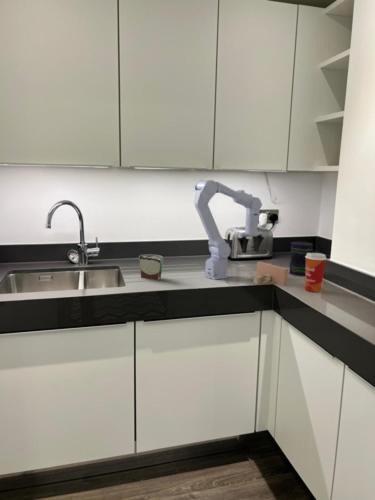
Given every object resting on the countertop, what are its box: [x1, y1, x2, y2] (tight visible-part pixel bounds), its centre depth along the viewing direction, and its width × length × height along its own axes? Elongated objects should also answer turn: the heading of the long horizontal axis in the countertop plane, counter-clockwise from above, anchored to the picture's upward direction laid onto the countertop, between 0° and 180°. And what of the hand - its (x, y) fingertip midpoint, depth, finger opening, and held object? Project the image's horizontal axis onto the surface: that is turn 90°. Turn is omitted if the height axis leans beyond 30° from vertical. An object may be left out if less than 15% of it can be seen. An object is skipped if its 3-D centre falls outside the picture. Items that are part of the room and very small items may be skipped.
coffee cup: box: [304, 252, 327, 294], centre depth 152 cm, size 8×8×15 cm
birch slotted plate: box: [252, 274, 289, 285], centre depth 166 cm, size 20×2×3 cm, turn 125°
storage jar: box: [288, 240, 314, 277], centre depth 179 cm, size 10×10×15 cm
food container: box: [138, 253, 165, 282], centre depth 164 cm, size 12×6×10 cm, turn 59°
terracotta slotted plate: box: [255, 261, 289, 286], centre depth 165 cm, size 16×2×7 cm, turn 35°
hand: (249, 252), depth 175 cm, fingers open, 7 cm apart
